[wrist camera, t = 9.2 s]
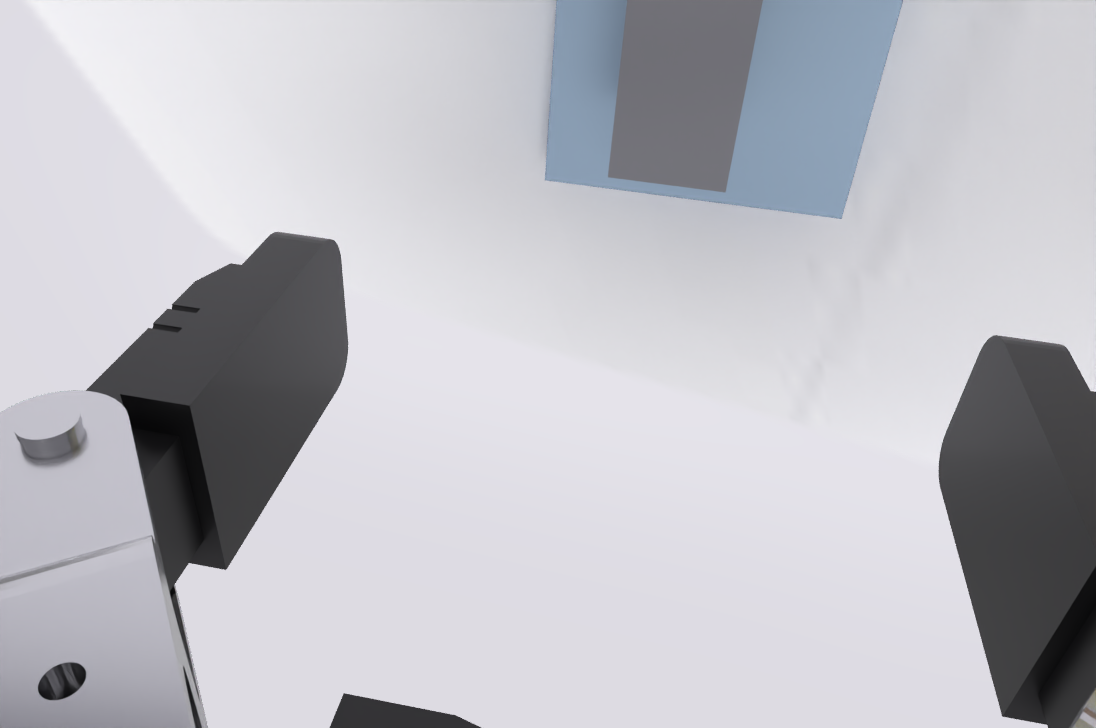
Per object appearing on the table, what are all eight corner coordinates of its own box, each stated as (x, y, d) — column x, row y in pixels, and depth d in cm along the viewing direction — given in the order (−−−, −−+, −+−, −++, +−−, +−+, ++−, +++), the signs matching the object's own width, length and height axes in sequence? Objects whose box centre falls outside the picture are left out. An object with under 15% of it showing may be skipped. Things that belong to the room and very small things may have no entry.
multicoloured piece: (953, -231, 23) (1034, -220, 17) (836, 196, 30) (863, 316, 24) (582, -260, 24) (529, -260, 18) (553, 160, 31) (507, 266, 25)
